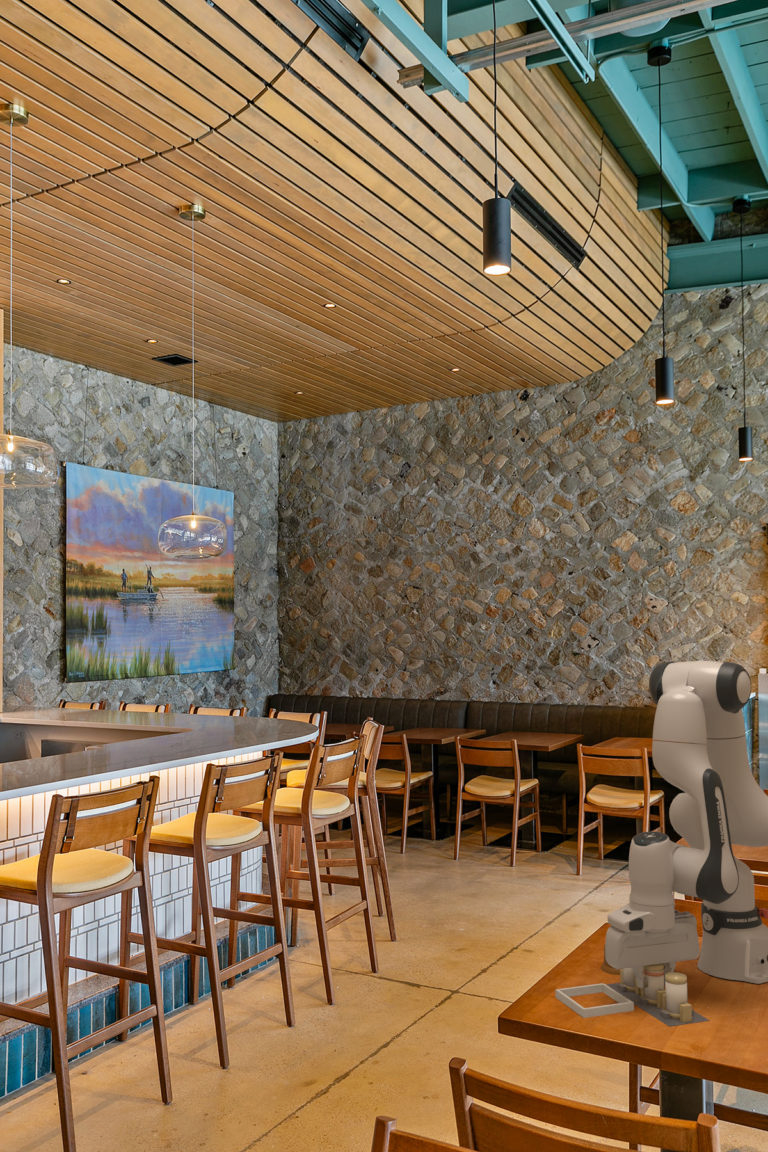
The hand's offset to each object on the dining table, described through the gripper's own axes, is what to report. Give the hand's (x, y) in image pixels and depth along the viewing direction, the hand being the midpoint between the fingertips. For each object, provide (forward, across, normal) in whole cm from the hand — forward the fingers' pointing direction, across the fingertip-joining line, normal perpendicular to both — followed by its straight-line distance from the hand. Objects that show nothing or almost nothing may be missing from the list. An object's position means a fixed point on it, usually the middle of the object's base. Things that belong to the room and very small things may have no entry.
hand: (653, 985), depth 188 cm
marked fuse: (+3, 0, 0) cm, 3 cm away
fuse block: (+5, 0, 0) cm, 5 cm away
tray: (+5, +12, -3) cm, 13 cm away
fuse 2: (+3, 0, +8) cm, 8 cm away
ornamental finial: (+5, -4, -19) cm, 20 cm away
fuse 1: (+3, 0, -8) cm, 8 cm away
